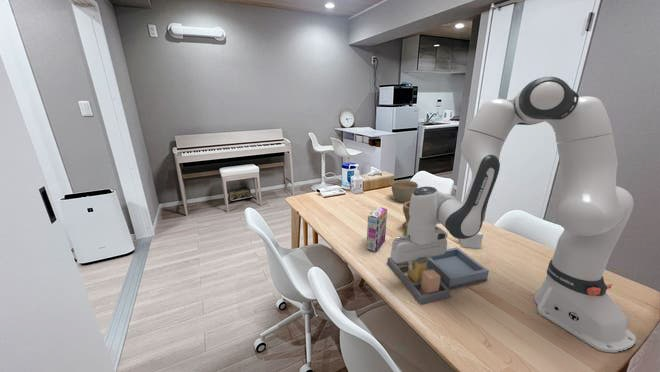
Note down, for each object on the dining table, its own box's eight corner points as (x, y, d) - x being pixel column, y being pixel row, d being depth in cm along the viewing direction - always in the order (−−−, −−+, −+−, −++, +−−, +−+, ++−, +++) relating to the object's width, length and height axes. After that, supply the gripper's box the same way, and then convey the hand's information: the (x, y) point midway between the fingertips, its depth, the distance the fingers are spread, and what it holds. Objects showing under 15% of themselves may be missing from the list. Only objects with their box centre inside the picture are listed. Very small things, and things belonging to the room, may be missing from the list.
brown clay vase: (395, 228, 133) (397, 200, 128) (412, 222, 139) (414, 195, 134) (420, 241, 121) (423, 211, 116) (437, 234, 127) (440, 205, 122)
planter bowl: (400, 193, 179) (401, 178, 175) (421, 200, 167) (423, 184, 163) (385, 199, 169) (385, 183, 166) (406, 207, 157) (407, 190, 154)
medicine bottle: (480, 248, 114) (485, 224, 110) (462, 247, 116) (466, 222, 112) (475, 240, 121) (479, 216, 117) (458, 239, 122) (462, 215, 118)
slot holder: (449, 297, 87) (450, 291, 87) (420, 304, 85) (421, 298, 84) (411, 258, 108) (412, 253, 108) (387, 263, 106) (387, 257, 105)
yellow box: (424, 282, 94) (427, 258, 91) (416, 284, 93) (419, 260, 90) (414, 272, 99) (417, 249, 96) (407, 274, 99) (409, 250, 95)
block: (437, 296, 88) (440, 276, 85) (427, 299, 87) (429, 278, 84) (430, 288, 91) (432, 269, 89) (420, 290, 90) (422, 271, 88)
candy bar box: (376, 253, 113) (378, 218, 107) (366, 249, 115) (367, 215, 110) (385, 241, 122) (387, 208, 116) (375, 238, 124) (377, 206, 119)
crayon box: (416, 251, 113) (419, 227, 109) (410, 252, 112) (412, 228, 109) (408, 243, 120) (410, 219, 116) (402, 243, 119) (404, 220, 115)
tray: (487, 280, 95) (489, 270, 94) (449, 288, 91) (450, 279, 90) (455, 255, 110) (457, 247, 108) (422, 262, 106) (423, 253, 104)
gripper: (397, 242, 85) (395, 278, 89) (451, 233, 90) (446, 267, 94) (388, 233, 91) (386, 267, 95) (439, 225, 96) (435, 257, 100)
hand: (416, 267), depth 95 cm, fingers closed on yellow box, 3 cm apart
